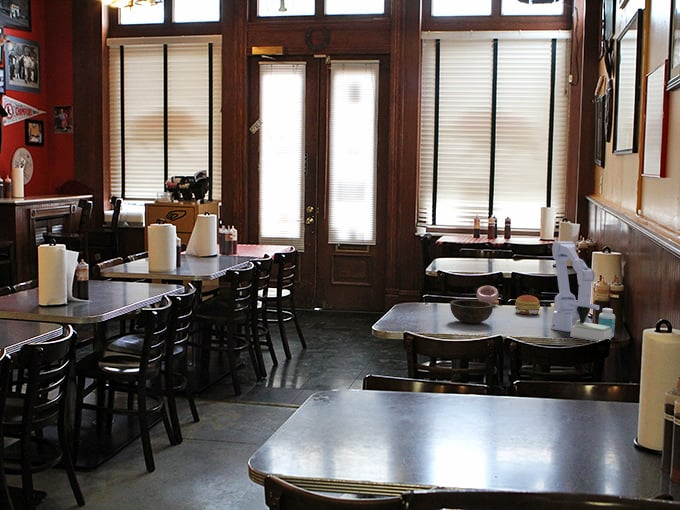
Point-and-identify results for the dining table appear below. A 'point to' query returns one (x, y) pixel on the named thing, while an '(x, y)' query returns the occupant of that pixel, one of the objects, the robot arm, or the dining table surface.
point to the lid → (591, 326)
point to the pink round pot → (487, 294)
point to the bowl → (471, 310)
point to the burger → (527, 304)
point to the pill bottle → (607, 319)
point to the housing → (590, 333)
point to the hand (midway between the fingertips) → (582, 322)
